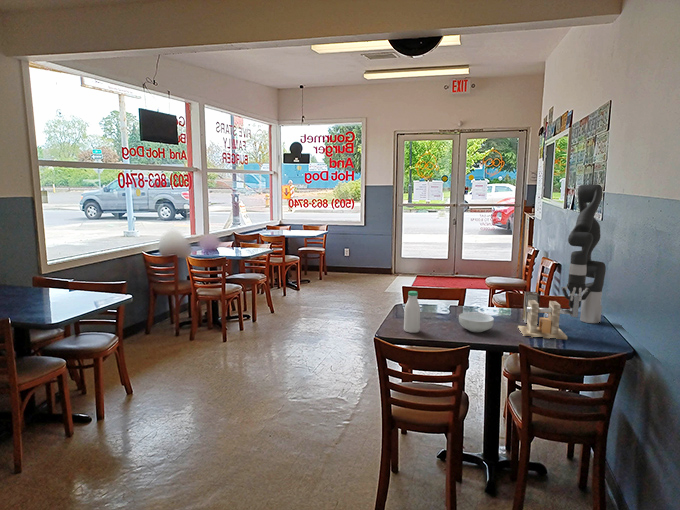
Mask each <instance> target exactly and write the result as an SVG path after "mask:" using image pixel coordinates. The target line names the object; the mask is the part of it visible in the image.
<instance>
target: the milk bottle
mask: <svg viewBox="0 0 680 510" xmlns="http://www.w3.org/2000/svg"><path fill="white" fill-rule="evenodd" d="M407 295H408V298H407V302H406V304H405V306H404V314H403V315H404V317H403V318H404V319H403V330H404V331H405V332H406V333H412V334H414V333H415V334H416V333H419V332H420V324H421V323H420V322H421V306H420V303H419V301H418V297H419V296H418V291H416V290H410V291H408V294H407Z"/></svg>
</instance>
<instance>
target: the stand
mask: <svg viewBox="0 0 680 510" xmlns="http://www.w3.org/2000/svg"><path fill="white" fill-rule="evenodd" d="M528 307H531V312H528V314H527V324H526V325H517V329H518V328H519V330H520V331H521V332H520V331H519V330H518V331H519V332H520V334H521V333H522V334H523V335H522V334H521V335H522V336H531V337H530V338H533V337H543V338H542V339H550V338H556V339H555V340H565V341H566V340H568V335H566V333H565V332H563V331H562V329H560V326H559V325H560V309H561V304H560V303H559V302H557V300H549V303H548V308H552V313H547V314H548V315H547V316H548V317H547V318H549V319H550V320H551V331H550V333H542V332H541V331H540V330H539V326H538V325H537V321H538V322H539V314H538V308H540V303H539V304H538V303H537V302H536V301H535V300H529V301H528Z"/></svg>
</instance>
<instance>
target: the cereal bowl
mask: <svg viewBox="0 0 680 510" xmlns="http://www.w3.org/2000/svg"><path fill="white" fill-rule="evenodd" d="M494 320H495V318H494V317H493V316H491V315H489V314H486V313H482V312H475V311H473V312H472V311H467V312H462V313H459V314H458V322H459V324H460V326H462V327H463V328H464V329H466V330H468V331H469V332H471V333H482V332H485V331H488V330H490V329H491V328H492V327H493V326H494Z"/></svg>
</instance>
